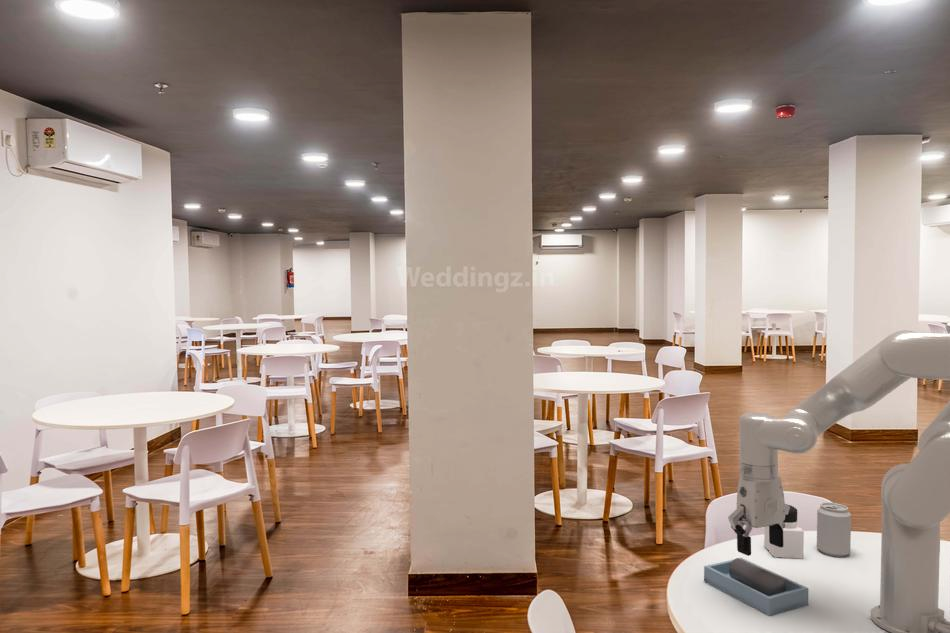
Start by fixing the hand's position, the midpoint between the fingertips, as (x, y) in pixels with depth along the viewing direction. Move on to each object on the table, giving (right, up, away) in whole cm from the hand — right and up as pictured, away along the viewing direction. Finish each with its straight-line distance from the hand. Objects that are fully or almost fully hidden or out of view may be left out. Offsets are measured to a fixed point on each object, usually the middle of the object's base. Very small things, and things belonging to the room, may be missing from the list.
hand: (760, 549), depth 140 cm
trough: (-1, -10, +1) cm, 10 cm away
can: (+29, -10, +24) cm, 39 cm away
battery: (-1, -9, 0) cm, 9 cm away
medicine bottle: (+16, -10, +23) cm, 30 cm away
